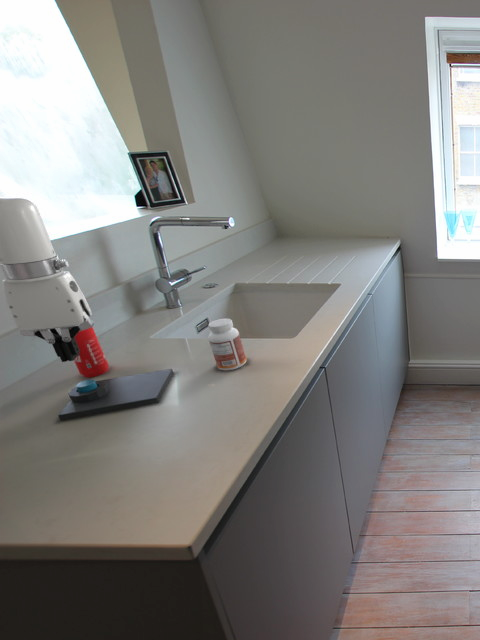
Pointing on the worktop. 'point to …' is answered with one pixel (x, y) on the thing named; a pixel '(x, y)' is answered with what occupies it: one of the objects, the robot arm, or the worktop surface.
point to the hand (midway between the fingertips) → (71, 358)
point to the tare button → (86, 386)
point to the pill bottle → (226, 345)
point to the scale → (118, 394)
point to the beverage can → (90, 354)
